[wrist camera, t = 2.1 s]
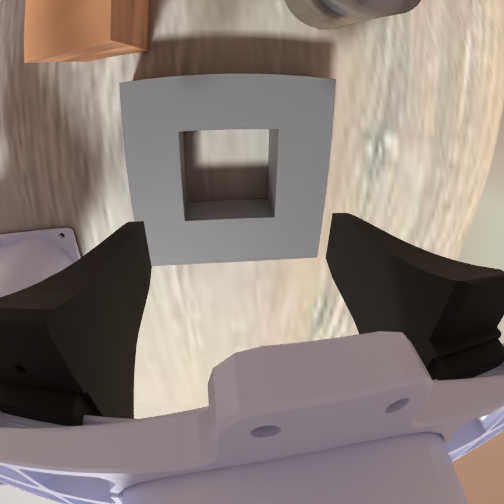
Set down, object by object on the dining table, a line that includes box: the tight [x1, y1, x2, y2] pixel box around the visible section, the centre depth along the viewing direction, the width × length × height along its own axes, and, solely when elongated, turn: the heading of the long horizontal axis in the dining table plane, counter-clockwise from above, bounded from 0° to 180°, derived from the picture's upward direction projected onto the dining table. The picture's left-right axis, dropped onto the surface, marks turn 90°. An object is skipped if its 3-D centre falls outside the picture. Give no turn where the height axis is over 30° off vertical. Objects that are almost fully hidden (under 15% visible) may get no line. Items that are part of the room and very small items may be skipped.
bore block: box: [120, 74, 336, 266], centre depth 19 cm, size 12×12×3 cm
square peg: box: [24, 0, 149, 63], centre depth 11 cm, size 4×4×8 cm
